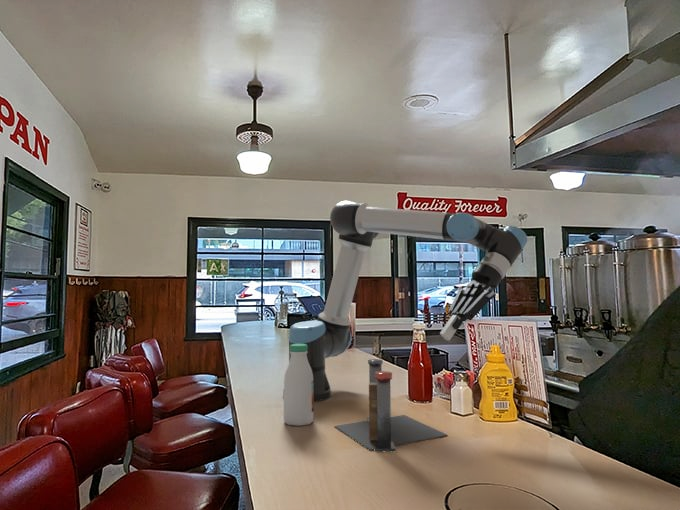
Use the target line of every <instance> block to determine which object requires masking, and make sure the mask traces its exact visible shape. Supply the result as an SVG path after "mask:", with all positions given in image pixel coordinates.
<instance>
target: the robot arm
mask: <svg viewBox="0 0 680 510" xmlns="http://www.w3.org/2000/svg"><path fill="white" fill-rule="evenodd" d="M329 215H330V216H329V221H330V224H331V226H332V229H333V231H335V232H337V234H338V239H337V240H338V241H339V243H340V248H339V251H338V256H337V259H336V264H335V268H334V272H333V275H332V278H331V279H332V280H331V283H330V287H329V291H328V294H327V299H326V302H325V306H324V309H323V311H321V312H320V313H319V314H318V316H317V319H316V320H305V321H299V322H296V323H293V324H292V325H291V326H290V328H289V332H288V337H287V338H288V363H289V362H290V358H291V353H290V345H292V344H306V345H307V346H308V350H307V352H308V353H307V360H308V363H309V365H310V367H311V370H312V373H313V395H314V402H320V401H324V400H327V399H329V398H330V397H332V394H331V393H332V391H331V386H330V383H329V379H328V376H327V373H326V359H328V358H331V357H332V358H333V357H334V358H335V357H337V356H340V355H342V354H343V353H345V352H346V351H347V350H348V349H349V347H350V345H351V343H352V340H353V336H352V332H351V329H350V327H351V321H350V319H349V314H350V310H351V306H352V303H353V300H354V299H353V298H354V296H355V292H356V288H357V285H358V280H359V276H360V273H361V270H362V269H361V268H362V264H363V262H364V257H365V253H366V251H369V249H371V248H372V245H373V241H374V239H376V238H377V237H378V236H379V235H380V234H388V235H397V236H408V237H418V238H427V239H434V240H435V239H436V240H444V241H445V240H446V241H453V242H461V243H462V242H463V243H466V244H468V245H471V246H473V247H476V248H478V249H480V250H482V251H484V252H486V254H485V255H484V257H483V258H482V259H481V261H480V262H479V264H478V265H477V266H476V268H475V269H474V270H473V271H472V274H471V281H469V283H468V284H467V285H466V286H465V287H462V286H459V287H458V288H457V293H456V295H455V297H454V299H453V301H452V303H451V305H450V307H449V309H448V313H449V314H450V317H449V318H448V320H447V322H446V323H445V325H444V327H442V329H441V331H440V332H439V335H440V336H441V337H442V338H443V339H444V340H445V341H448V342H449V341H451V339H452V338H453V336H454V335H455V333H456V332H457V330H459V329H460V327H461V326H462V324H463V323H465V322H466V321H467V320H468V321H472V320H473V319H475V317H476V316H477V315H478V314H479V312H481V310H482V309H483V308H485V306H486V305H487V304H488V303H489V302H490V301H491V300H493V299H494V298H496V296H497V293H495V290H496V289H497V288H498V286H499V285H500V284H501V282H502V280H503V279H504V278H505V276H506V275H507V274H508V272H509V270H510V269H511V267H513V264H514V263H515V261H516V260H517V259H518V258H519V256H520V254H521V253H522V251H523V249H524V248H525V246H526V245H527V243H528V236H527V234H526V232H525V231H524V230H522V229H521V228H520V227H518V226H514V225H508V226H506V227H504V228H503V229H501V228H498V227H495V226H493V225H491V224H489V223H487V222H485V221H483V220H481V219H479V218H477V217H475V216H474V215H473V214H471V213H468V212H456V213H455V212H451V213H450V212H441V211H429V210H417V209H416V210H415V209H405V208H404V209H401V208H391V207H376V206H370V205H368V203H366V202H357V201H354V200H350V199H349V200H347V199H346V200H343V201H339V202H338V203H336V204H335V205H334V207H333V208H332V210H331V212H330V214H329ZM282 391H283V394H282V396H283V398H284V389H283V390H282Z"/></svg>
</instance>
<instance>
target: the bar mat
mask: <svg viewBox="0 0 680 510" xmlns="http://www.w3.org/2000/svg"><path fill="white" fill-rule="evenodd" d="M334 428H335V429H336V430H338V431H340V432H341V433H342V434H343V435H346V436H347V437H349V438H350V437H351V438H350V439H352V438H353V439H354V440H353V439H352V440H353V441H355V440H356V441H357V443H358V442H359V443H360V444H359V443H358V444H359V445H361V444H362V445H363V446H362V445H361V446H362V447H364V446H365V447H366V448H365V447H364V448H365V449H367V450H368V449H369V450H368V451H370V450H372V451H375V450H374V449H375V448H374V444H373V442H377V440H369V423H368V421H367V420H363V421H358V422H349V423H344V424H338V425H334ZM445 437H448V434H447V433H445V432H443V431H440V430H438V429H436V428H434V427H431V426H429V425H428V424H425V423H424V422H420V421H419V420H416V419H414V418H412V417H409V416H408V415H405V414H402V415H401V414H400V415H394V416H391V442H393V443H394V446H395V447H397V446H396V445H398V446H402V445H401V444H403V445H407V444H406V443H409V444H412V442H414V443H418V442H424V441H430V440H433V439H434V440H435V439H439V438H445ZM356 441H355V442H356Z"/></svg>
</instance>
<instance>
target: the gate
mask: <svg viewBox="0 0 680 510" xmlns="http://www.w3.org/2000/svg"><path fill="white" fill-rule="evenodd" d="M368 407H369V408H368V417H369V440H377V383H368Z"/></svg>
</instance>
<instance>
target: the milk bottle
mask: <svg viewBox="0 0 680 510" xmlns="http://www.w3.org/2000/svg"><path fill="white" fill-rule="evenodd" d="M307 350H308V346H307V345H306V344H292V345H290V353H291V358H290V362H289V361H288V365H287V367H286V369H285V373H284V379H283V390H284V397H283V422H284V423H285V424H286V425H288V426H291V427H292V426H296V427H300V426H301V427H302V426H308V425H310V424H312V423H313V422H314V413H315V412H314V411H315V409H314V402H315V401H314V395H313V373H312V370H311V367H310V365H309V363H308V360H307V353H308V352H307Z"/></svg>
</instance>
